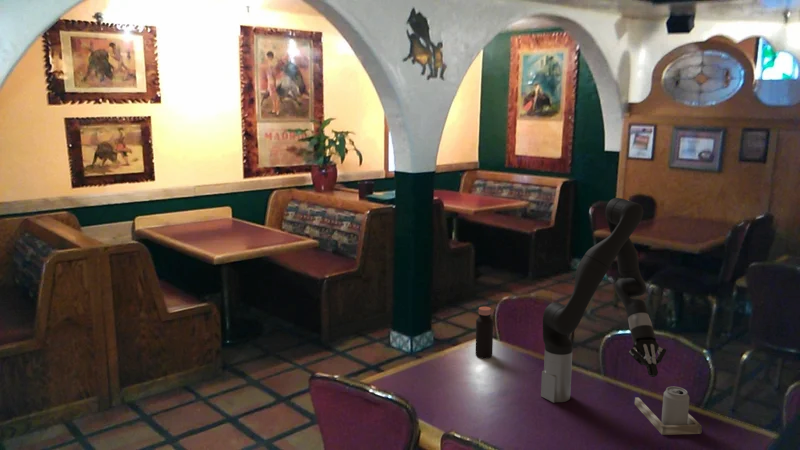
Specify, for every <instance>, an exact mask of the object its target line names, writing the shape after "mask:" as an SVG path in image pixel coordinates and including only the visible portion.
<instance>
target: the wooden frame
mask: <svg viewBox="0 0 800 450" xmlns="http://www.w3.org/2000/svg"><path fill="white" fill-rule="evenodd" d="M634 406H635V407H636V408H637V409H638V410H639V411H640V412H641V413H642V415H644V417H645V418H646V419H647V420H648V421H649V423H651V424H652V426H654V428H655V429H656V430H657V431H658V432H659V433H660V434H661V435H662V436H668V435H669V436H673V435H698V434H699V435H702V431H703V426H702V425H701V424H700V423H699V422H698V421H697V420H696V419H695V418H694V417H693V416H692V415H691V414H690V413H689V412H688V421H687V425H664V424H663V423H662V420H660V418H658V416H657V415H656V414H655V413H654V412H653V411H652V410H651V409H650V408H649V407H648V406H647V405H646V404H645V402H643V400H642V399H641V398H640V397H634Z"/></svg>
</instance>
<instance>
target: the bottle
mask: <svg viewBox="0 0 800 450" xmlns="http://www.w3.org/2000/svg"><path fill="white" fill-rule="evenodd" d="M491 315H492V308H491V307H489V306H480V307H478V317H477V318H476V319H475V356H476V357H477V358H479V359H490V358H491V357H493V350H494V349H493V346H494V345H493V344H494V343H493V341H494V339H493V338H494V320H493V318H492V317H491Z"/></svg>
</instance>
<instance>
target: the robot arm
mask: <svg viewBox="0 0 800 450" xmlns="http://www.w3.org/2000/svg"><path fill="white" fill-rule="evenodd" d="M643 208H644V207H643V206H642V205H641V204H640V203H637V202H635V201H631V200H628V199H625V198H621V197H614V198H612V199H610V200H609V201H608V202H607V205H606V207H605V218H606V221H607V222H606V223H607V226H608V228H609V232H610V234H609V235H608V236H607V237H606V238H604V239H603V240H601V241H599V242H598V243H596V244H594V245H593V246H592V247H590V248H589V249H588V250H587V251H586V252H585V254H584V255H583V256H582V258H581V260H580V262H579V263H578V265H577V267H576V269H575V270H576V271H575V278H574V288H573V292H572V294H571V296H570V297H569V299H568V300H567V303H566V304H562V303H561V302H550V303H549V304H547V306H546V307H545V309H544V311H543V314H542V315H543V316H542V339H543V343H544V361H543V363H544V364H543V365H544V366H543V370H542V371H541V385H540V386H541V387H540V396H541V397H542V398H544V399H546V400H547V401H550V402H551V403H553V404H555V403H565V402H568V401H569V400H571V391H572V390H571V387H572V365H573V362H572V361H573V346H574V345H573V342H572V340H571V339H570V338H569V335H571V334H573V332H574V331H575V330H577V328H578V326H579V325H580V323H581V320H583V319H582V318H583V317H584V314H585V312H586V310H587V308H588V306H589V304H590V302H591V300H592V298H593V296H594V295H595V293H596V291H597V289H598V287H599V285H600V284H601V282H602V281H603V279H604V278H605V276H606V274H607V273H608V272H609V270H610V267H612V266H611V265H612V264H613V263H614V261H615V259H616V260H617V269H618V273H619V275H620V276H621V277H623V278H620V279H617V280H616V282H615V284H614V289H615V292H616V294H617V296H618V298H619V300H620V301H621V303H622V305H623V306H624V308H625V311H626V316H627V321H628V326H629V328H628V329H629V331H630V335H631V338H632V339H631V340H632V342H633V348H631V349H630V350H629V351H628V354H629V355H630V357H632V358H633V359H634V360H635V361H636V362H637V363H638V364H639V365H641V366H644V367H646V370H647V374H648V376H649V377H651V378H655V377H657V376H658V374H659V371H658V367H657V366H658V365H660V363H661V362H662V360H663V358H664V356H665V354H666V352H667V349H666V348H662V347H660V346H659V343H658V342H657V339H656V334H655V330H654V327H653V323H652V321H651V318H650V315H649V312H648V308H647V304H646V303H645V301H644V300H642V299H639V298H636V299H635V297H640V296H643V295H645V294H646V291H647V285H646V283H645V280H644V278H643V276H642V275H641V271H640V266H639V264H640V263H639V256H638V252H637V248H636V247H635V245H634V244H633V242H632V241H631V238H630V237H631V235H632V234H633V233H634V232H635V230H636V229H637V227H638V226H639V225H640V223H641V221H642V219H643V216H644V209H643ZM656 354H658V355H657V356H656Z"/></svg>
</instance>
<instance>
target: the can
mask: <svg viewBox="0 0 800 450" xmlns="http://www.w3.org/2000/svg"><path fill="white" fill-rule="evenodd" d="M688 393H689V392H688V390H686V389H685V388H683V387H680V386H673V385H672V386H668V387H666V389H665V391H664V392H663V394H662V395H663V397H662V408H661V422H662V423H663V424H664V425H688V424H687V421H688V413H689V408H690V395H689V394H688Z"/></svg>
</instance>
